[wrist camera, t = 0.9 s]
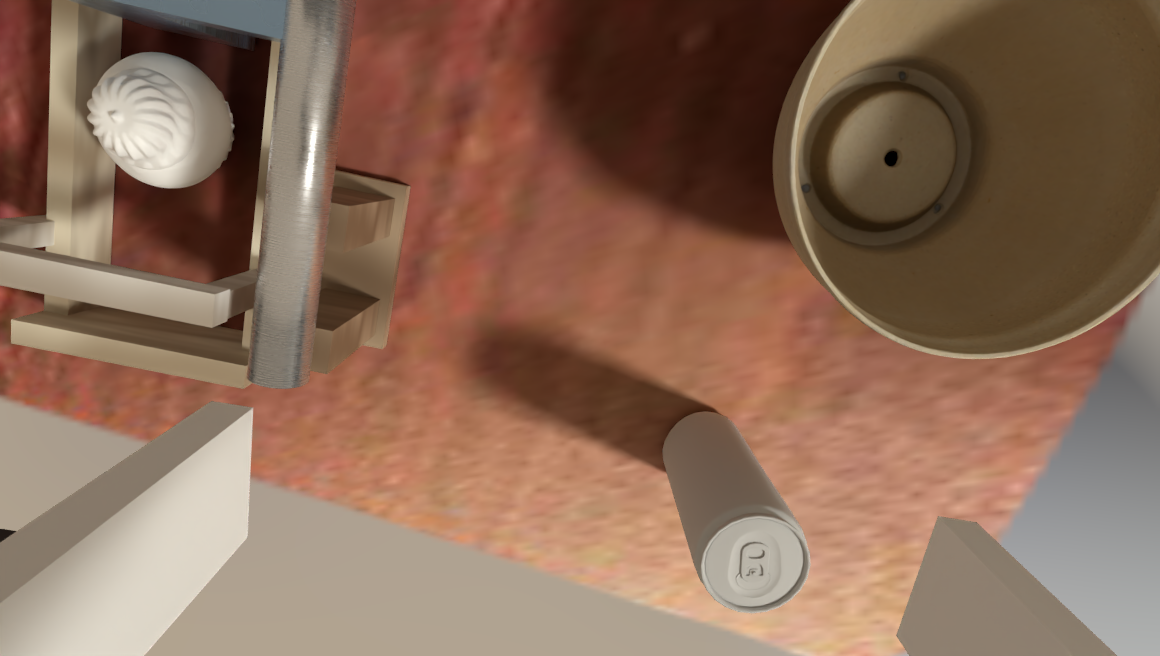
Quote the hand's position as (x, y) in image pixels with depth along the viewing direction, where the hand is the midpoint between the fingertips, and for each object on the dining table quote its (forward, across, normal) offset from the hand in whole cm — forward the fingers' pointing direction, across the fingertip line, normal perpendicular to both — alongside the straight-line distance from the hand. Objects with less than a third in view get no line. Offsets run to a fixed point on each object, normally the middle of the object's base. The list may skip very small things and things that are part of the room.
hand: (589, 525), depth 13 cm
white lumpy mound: (+25, -21, +5) cm, 33 cm away
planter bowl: (+25, +14, +9) cm, 30 cm away
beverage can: (+25, +8, -9) cm, 27 cm away
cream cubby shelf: (+24, -12, -1) cm, 27 cm away
